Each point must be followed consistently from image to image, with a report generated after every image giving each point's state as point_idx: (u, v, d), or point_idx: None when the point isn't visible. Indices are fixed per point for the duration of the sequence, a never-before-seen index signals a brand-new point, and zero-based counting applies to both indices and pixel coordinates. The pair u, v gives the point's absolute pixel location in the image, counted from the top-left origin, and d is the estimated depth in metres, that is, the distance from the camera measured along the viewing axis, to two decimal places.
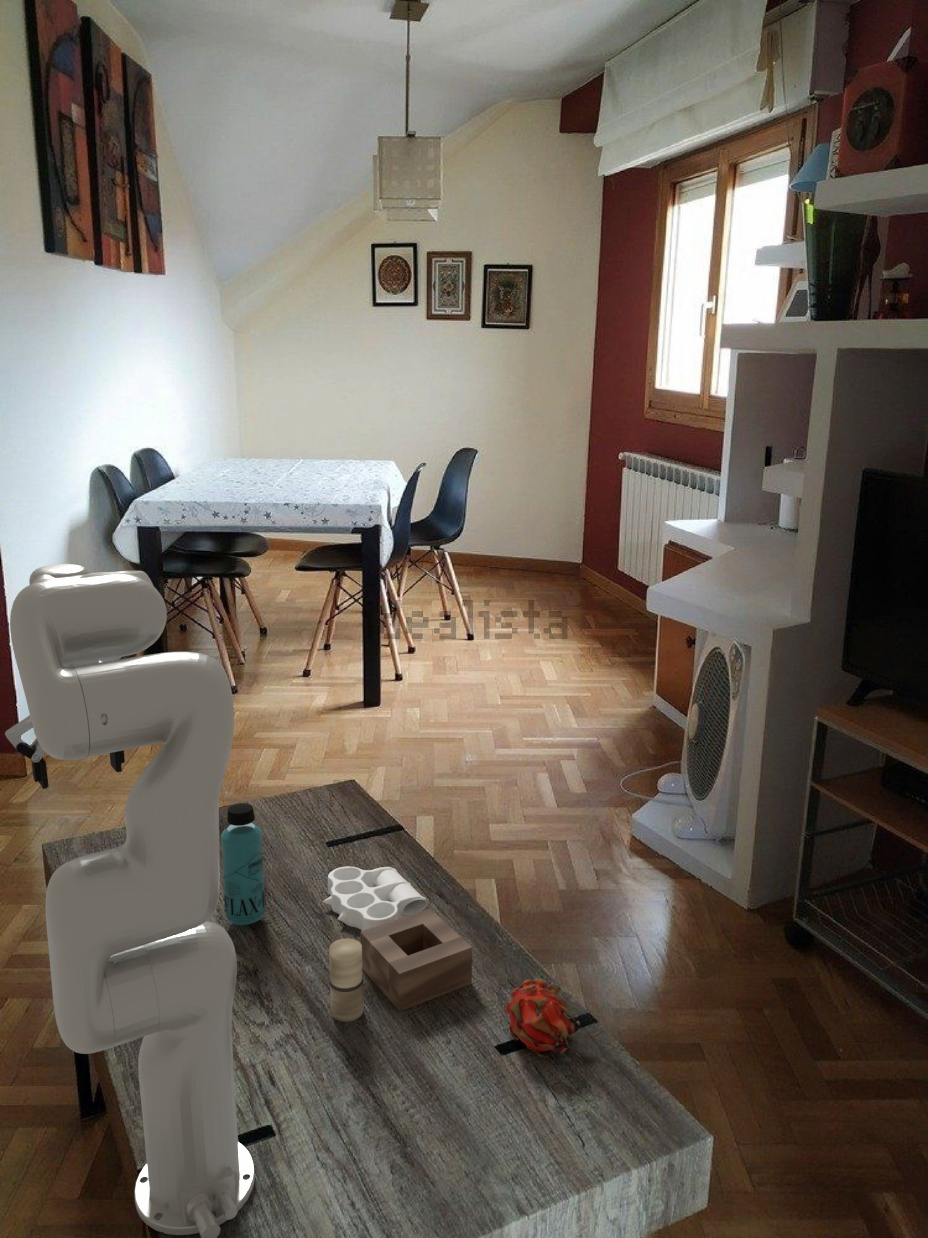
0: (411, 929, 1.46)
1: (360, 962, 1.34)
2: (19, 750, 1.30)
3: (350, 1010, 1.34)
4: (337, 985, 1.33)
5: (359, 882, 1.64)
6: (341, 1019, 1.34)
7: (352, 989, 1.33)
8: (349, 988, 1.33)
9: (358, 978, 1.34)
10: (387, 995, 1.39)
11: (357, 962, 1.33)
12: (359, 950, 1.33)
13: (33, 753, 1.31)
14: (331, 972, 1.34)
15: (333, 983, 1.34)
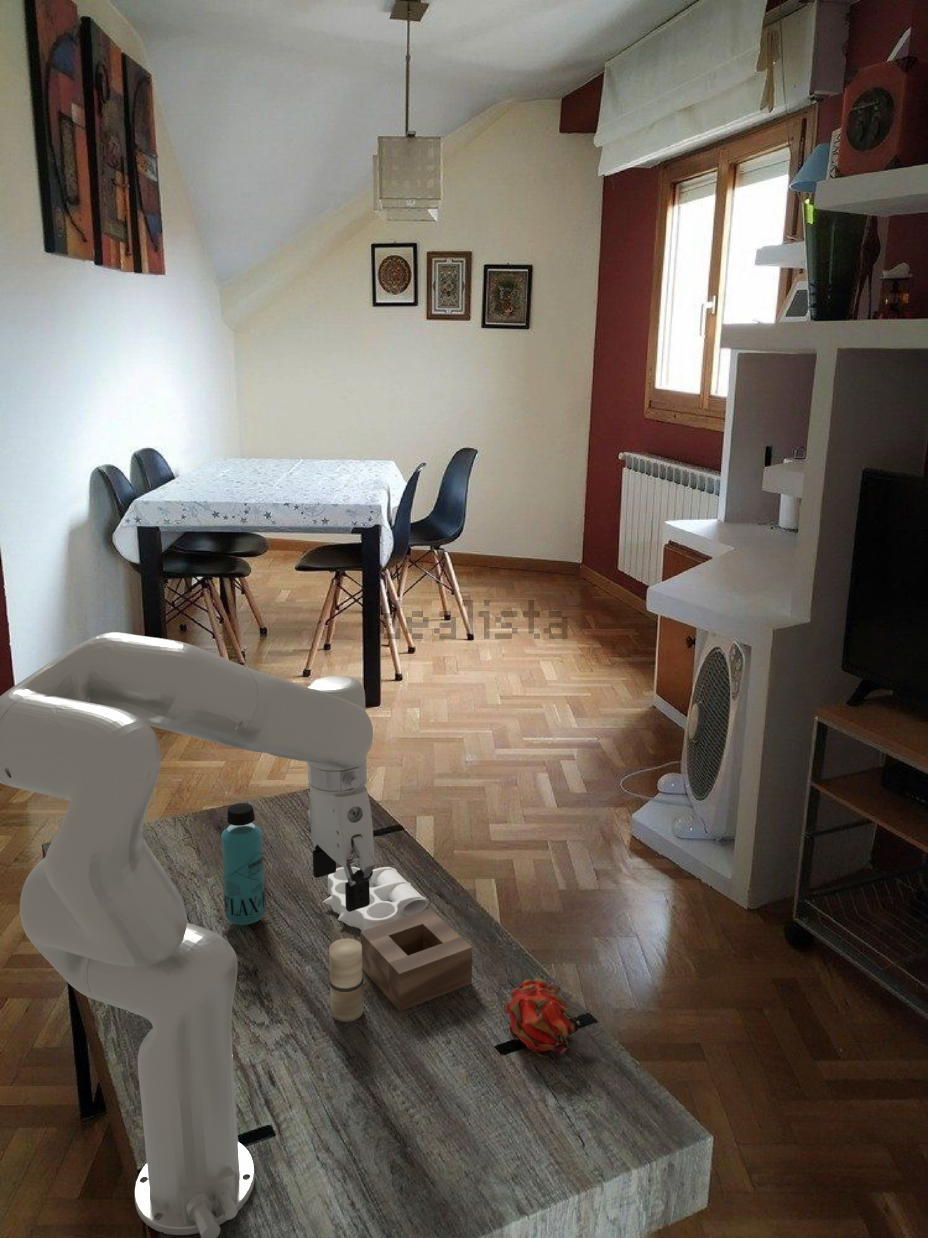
0: (411, 929, 1.46)
1: (360, 962, 1.34)
2: (372, 873, 1.25)
3: (350, 1010, 1.34)
4: (337, 985, 1.33)
5: None
6: (341, 1019, 1.34)
7: (352, 989, 1.33)
8: (349, 988, 1.33)
9: (358, 978, 1.34)
10: (387, 995, 1.39)
11: (357, 962, 1.33)
12: (359, 950, 1.33)
13: None
14: (331, 972, 1.34)
15: (333, 983, 1.34)
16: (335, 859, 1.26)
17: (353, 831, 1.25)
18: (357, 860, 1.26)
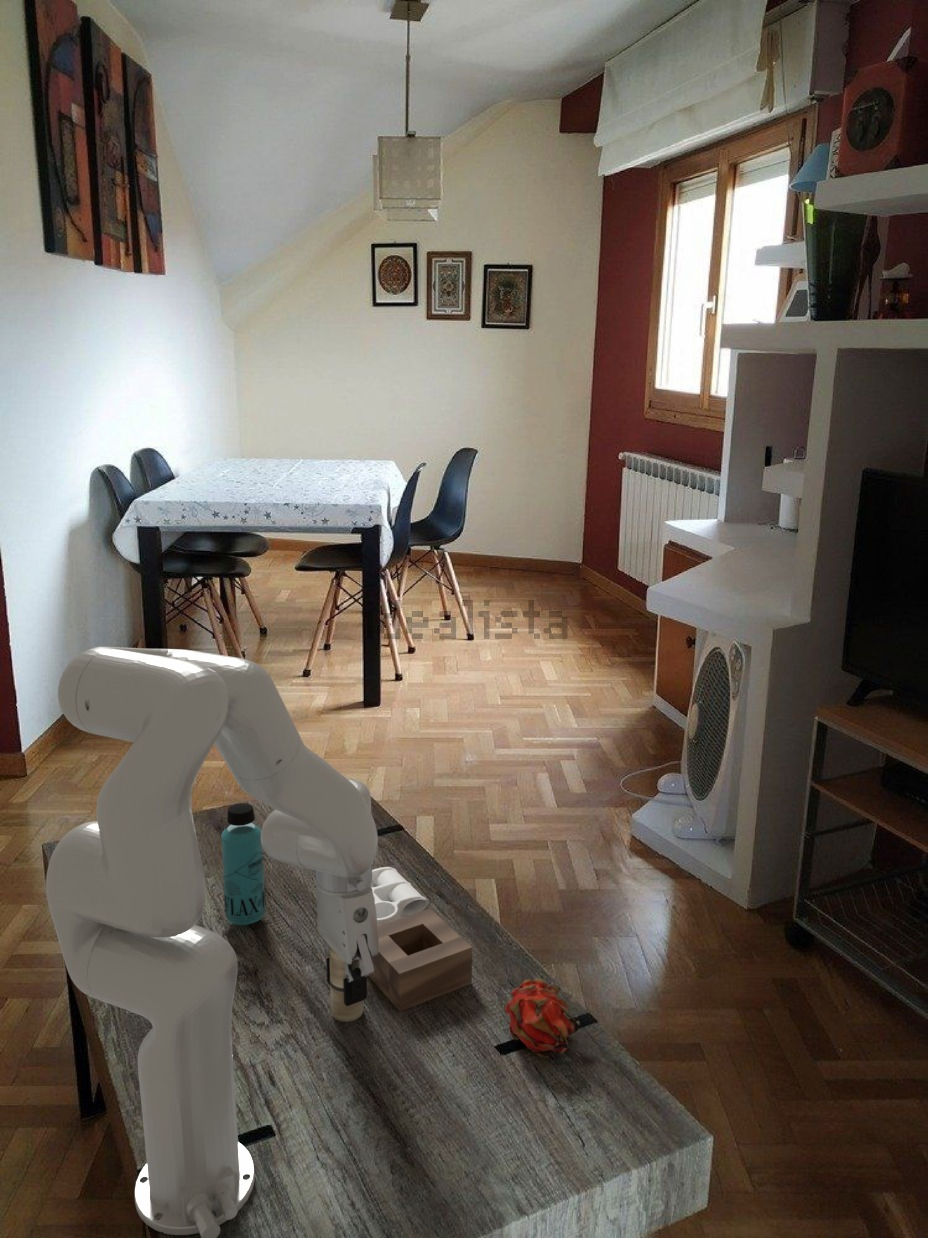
0: (411, 929, 1.46)
1: None
2: None
3: (350, 1010, 1.34)
4: (337, 985, 1.33)
5: None
6: (341, 1019, 1.34)
7: None
8: None
9: None
10: (387, 995, 1.39)
11: (357, 962, 1.33)
12: None
13: None
14: (331, 972, 1.34)
15: (333, 983, 1.34)
16: (341, 957, 1.30)
17: (358, 931, 1.28)
18: (358, 959, 1.31)
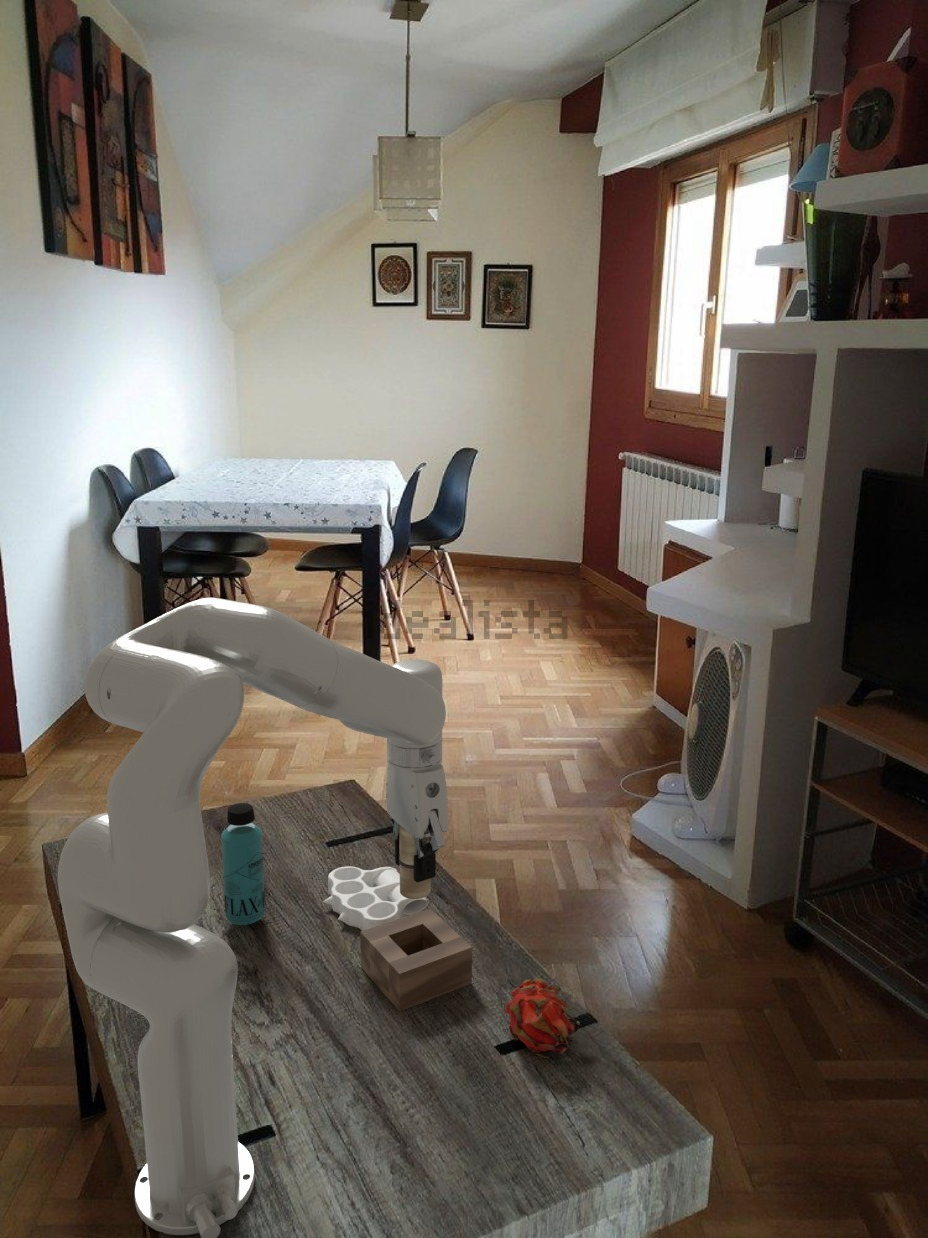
0: (411, 929, 1.46)
1: None
2: None
3: (419, 888, 1.38)
4: (407, 862, 1.37)
5: (359, 882, 1.64)
6: (410, 896, 1.39)
7: None
8: None
9: None
10: (387, 995, 1.39)
11: (427, 839, 1.37)
12: None
13: None
14: (401, 850, 1.38)
15: (403, 861, 1.38)
16: (412, 832, 1.34)
17: (430, 806, 1.32)
18: (428, 836, 1.35)
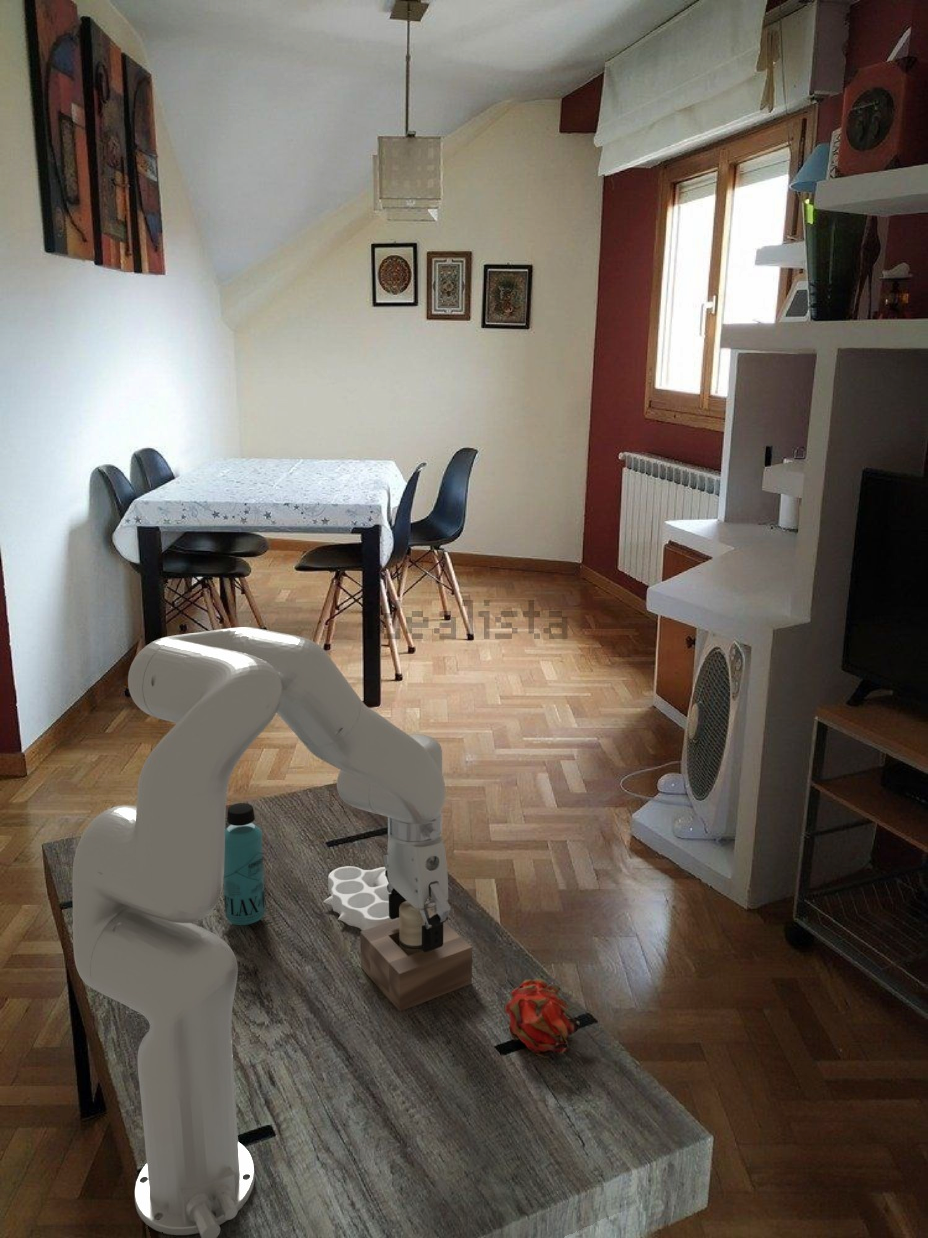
0: None
1: None
2: (447, 918, 1.35)
3: None
4: (407, 943, 1.41)
5: (359, 882, 1.64)
6: None
7: (421, 946, 1.41)
8: (419, 945, 1.41)
9: None
10: (387, 995, 1.39)
11: None
12: (428, 910, 1.41)
13: None
14: (401, 930, 1.41)
15: (403, 941, 1.41)
16: (413, 903, 1.37)
17: (430, 878, 1.35)
18: (433, 905, 1.37)
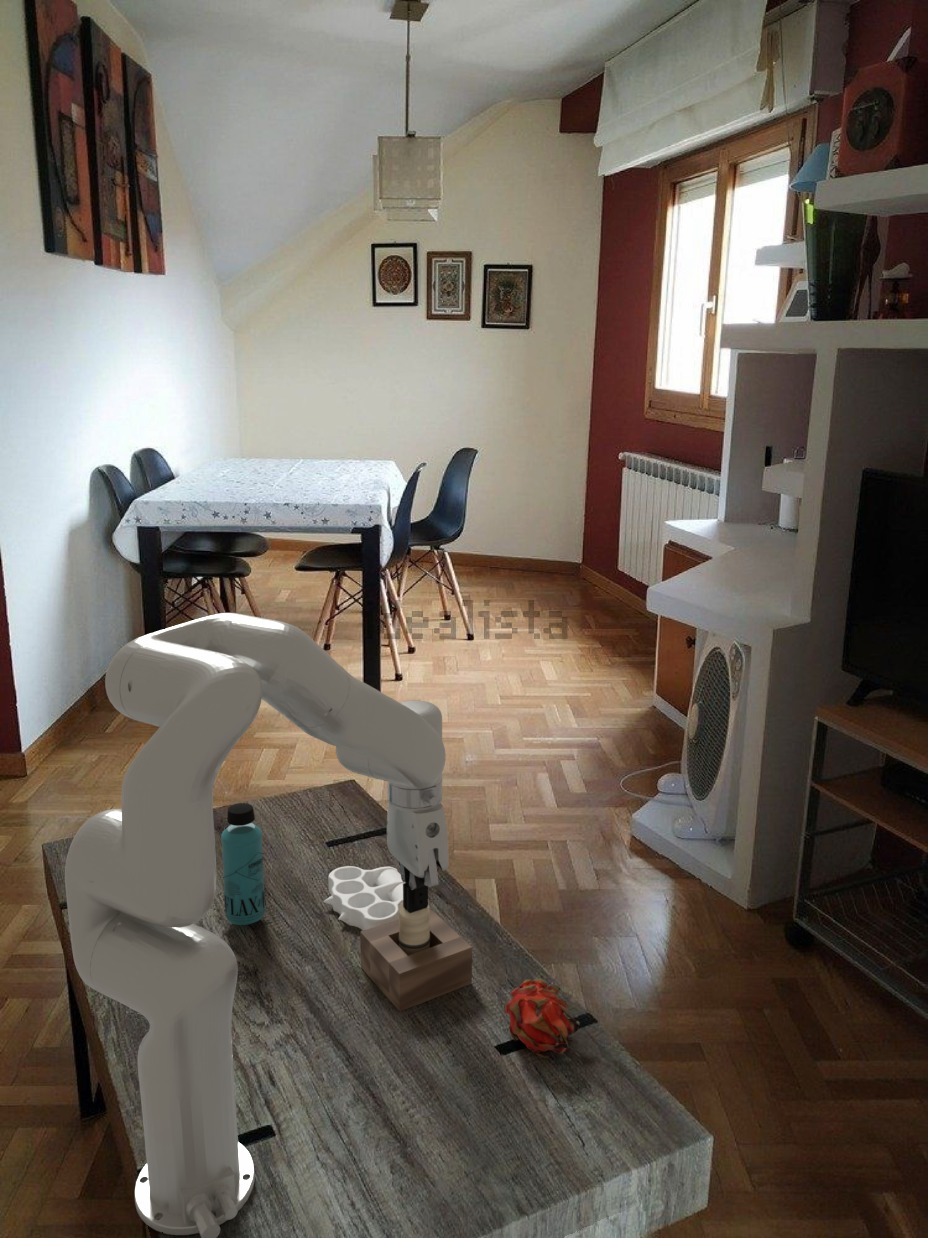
0: None
1: (428, 921, 1.41)
2: None
3: None
4: (406, 942, 1.41)
5: (359, 882, 1.64)
6: None
7: (420, 946, 1.41)
8: (418, 945, 1.41)
9: (426, 936, 1.42)
10: (387, 995, 1.39)
11: (425, 920, 1.41)
12: (427, 909, 1.41)
13: None
14: (400, 930, 1.41)
15: (402, 940, 1.41)
16: (413, 871, 1.36)
17: (430, 845, 1.34)
18: (424, 872, 1.38)
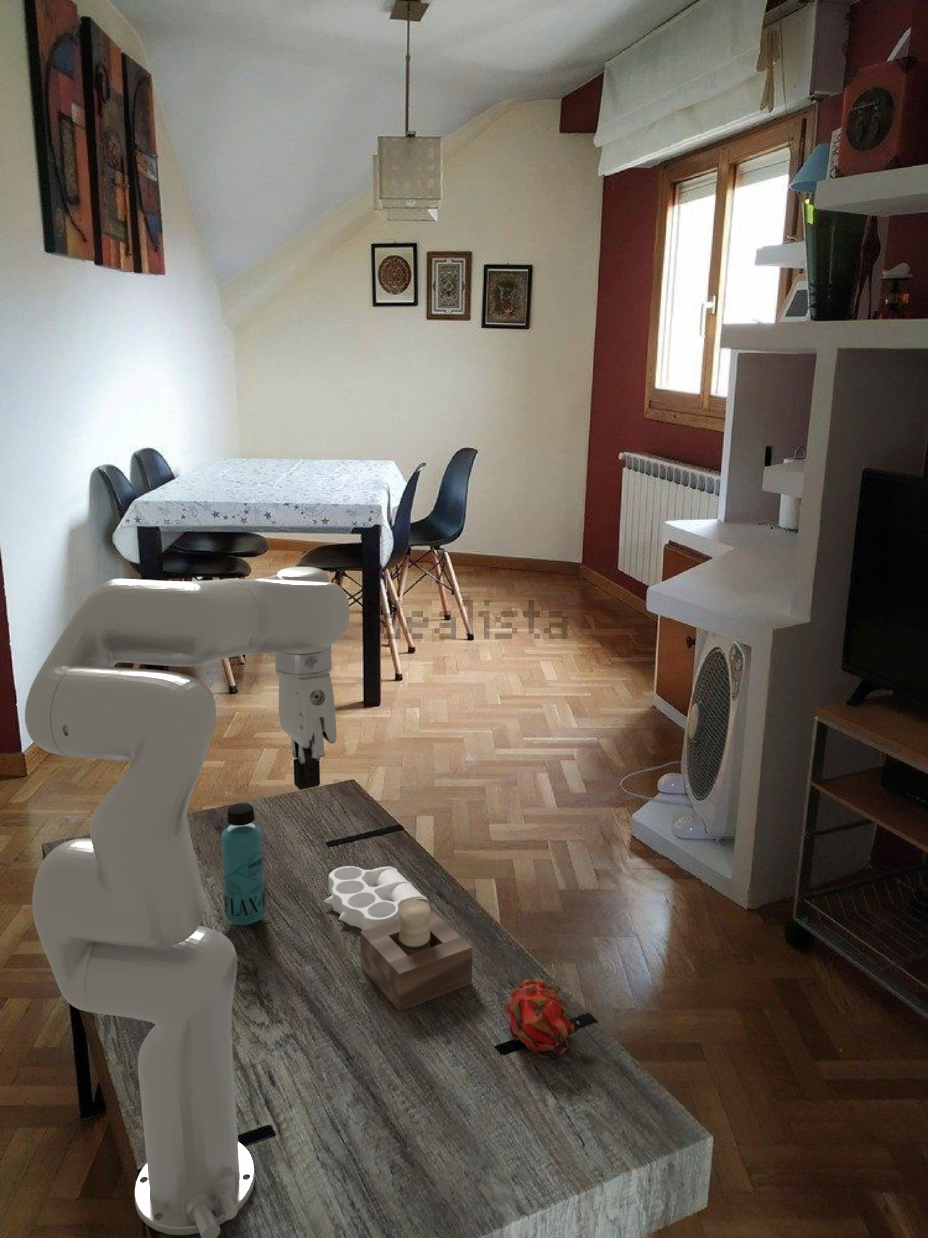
0: None
1: (428, 922, 1.41)
2: None
3: None
4: (406, 943, 1.41)
5: (360, 881, 1.64)
6: None
7: (420, 947, 1.41)
8: (418, 946, 1.41)
9: (426, 937, 1.41)
10: (387, 995, 1.39)
11: (425, 921, 1.40)
12: (427, 910, 1.41)
13: None
14: (401, 931, 1.41)
15: (402, 941, 1.41)
16: (299, 742, 1.32)
17: (315, 714, 1.30)
18: None
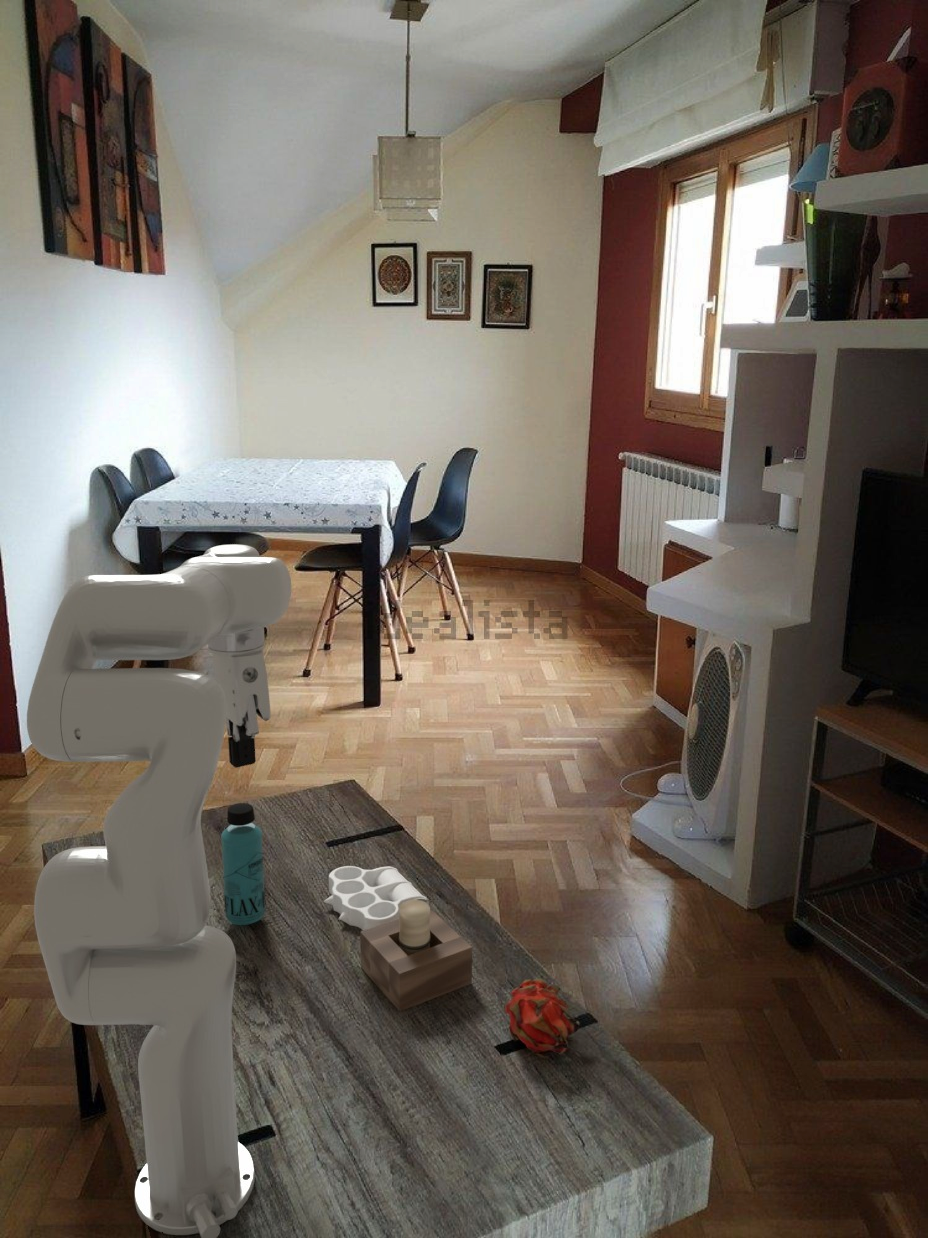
0: None
1: (428, 922, 1.41)
2: None
3: None
4: (406, 943, 1.41)
5: (360, 881, 1.64)
6: None
7: (420, 947, 1.41)
8: (418, 946, 1.41)
9: (426, 937, 1.41)
10: (387, 995, 1.39)
11: (425, 922, 1.40)
12: (427, 911, 1.41)
13: None
14: (401, 931, 1.41)
15: (402, 941, 1.41)
16: (232, 720, 1.32)
17: (248, 691, 1.31)
18: None
